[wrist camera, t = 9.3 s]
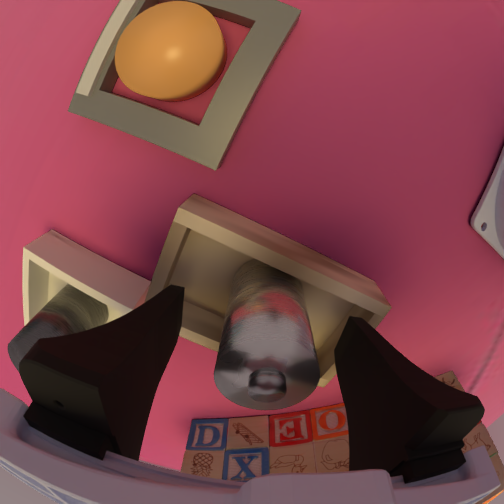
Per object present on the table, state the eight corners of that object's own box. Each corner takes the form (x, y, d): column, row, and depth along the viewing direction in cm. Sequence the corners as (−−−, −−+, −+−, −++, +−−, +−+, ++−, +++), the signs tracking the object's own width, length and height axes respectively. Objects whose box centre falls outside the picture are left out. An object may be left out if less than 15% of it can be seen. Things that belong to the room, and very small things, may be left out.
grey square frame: (298, 20, 10) (302, 7, 8) (219, 167, 13) (214, 171, 11) (149, -22, 9) (139, -34, 7) (81, 111, 11) (64, 111, 10)
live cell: (308, 262, 14) (337, 358, 8) (292, 320, 15) (305, 423, 9) (236, 251, 14) (215, 344, 8) (227, 311, 15) (209, 413, 9)
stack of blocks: (214, 451, 22) (199, 564, 11) (190, 416, 20) (162, 555, 9) (437, 410, 20) (477, 512, 9) (453, 367, 18) (514, 485, 6)
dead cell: (112, 296, 15) (54, 375, 9) (104, 336, 16) (58, 411, 10) (66, 270, 14) (-3, 334, 8) (62, 311, 16) (7, 376, 10)
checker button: (244, 33, 10) (240, 16, 8) (199, 115, 12) (188, 112, 10) (160, 9, 9) (145, -7, 8) (119, 86, 11) (98, 81, 9)
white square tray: (151, 281, 15) (132, 309, 12) (127, 360, 18) (113, 388, 15) (52, 229, 14) (23, 246, 11) (45, 314, 17) (25, 336, 14)
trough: (374, 281, 15) (391, 307, 12) (317, 356, 17) (323, 387, 14) (193, 193, 13) (178, 207, 11) (155, 290, 15) (139, 317, 13)
